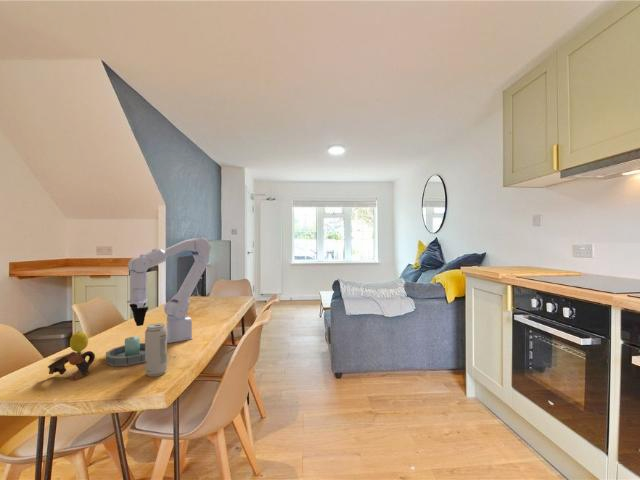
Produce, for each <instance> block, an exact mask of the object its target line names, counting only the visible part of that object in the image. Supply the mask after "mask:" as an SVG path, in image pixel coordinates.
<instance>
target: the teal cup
mask: <svg viewBox="0 0 640 480" xmlns="http://www.w3.org/2000/svg"><path fill="white" fill-rule="evenodd" d="M140 339H141V338H140V336H130V337H127V338H124V345H125V357H128V356H134V355H139V354H140V343H141V342H140Z"/></svg>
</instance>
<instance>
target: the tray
mask: <svg viewBox="0 0 640 480" xmlns="http://www.w3.org/2000/svg"><path fill="white" fill-rule="evenodd" d="M140 364H145V342H140V354H139V355H134V356H128V357H125V344H124V345H120V346H117V347H114V348H111V349H110V350H108V351H106V352H105V365H107V366H109V367H121V368H122V367H128V366H135V365H140Z"/></svg>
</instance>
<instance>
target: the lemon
mask: <svg viewBox="0 0 640 480" xmlns="http://www.w3.org/2000/svg"><path fill="white" fill-rule="evenodd" d="M88 344H89V337H88V335H87V333H85V332H83V331H80V330H78V331H77V332H75V333H73V334H72V335H71V337H70V339H69V347H70V349H71V350H72V351H73V352H77V353H81V352H82V351H83V350H85V349H86V348H87V347H88Z"/></svg>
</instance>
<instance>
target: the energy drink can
mask: <svg viewBox="0 0 640 480" xmlns="http://www.w3.org/2000/svg"><path fill="white" fill-rule="evenodd" d="M144 343H145V362H144V365H145V367H144V369H145V370H144V372H145V373H146V374H147V375H146V376H147V377H150V378H153V377H159V376H163V375H164V374H165V373H166V371H167V369H168V353H167V352H168V351H167V350H168V349H167V348H168V345H167V344H168V343H167V327H165V324H164V323H160V322H159V323H153V324H152V323H151V324H148V325H147V326H146V330H145V331H144Z"/></svg>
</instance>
